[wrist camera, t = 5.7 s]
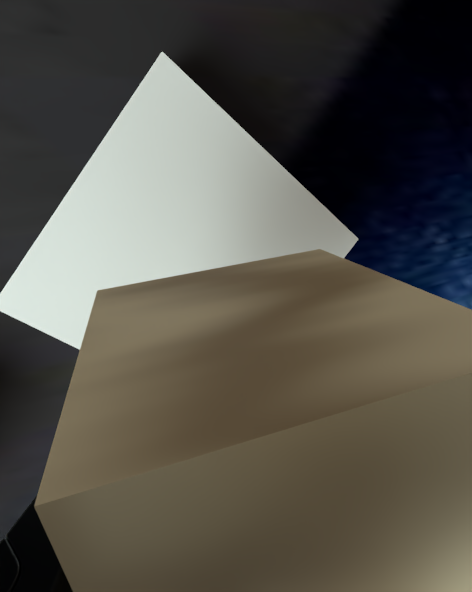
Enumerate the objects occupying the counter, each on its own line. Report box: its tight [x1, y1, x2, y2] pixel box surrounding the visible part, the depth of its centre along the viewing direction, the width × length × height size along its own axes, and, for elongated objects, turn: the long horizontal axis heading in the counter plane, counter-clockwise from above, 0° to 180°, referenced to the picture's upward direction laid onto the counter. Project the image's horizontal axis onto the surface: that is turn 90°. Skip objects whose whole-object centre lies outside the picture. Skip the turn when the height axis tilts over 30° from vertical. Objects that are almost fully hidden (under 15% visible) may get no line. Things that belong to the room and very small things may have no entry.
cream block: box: [0, 52, 358, 350], centre depth 18 cm, size 12×12×4 cm
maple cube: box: [34, 249, 472, 592], centre depth 7 cm, size 6×6×6 cm
